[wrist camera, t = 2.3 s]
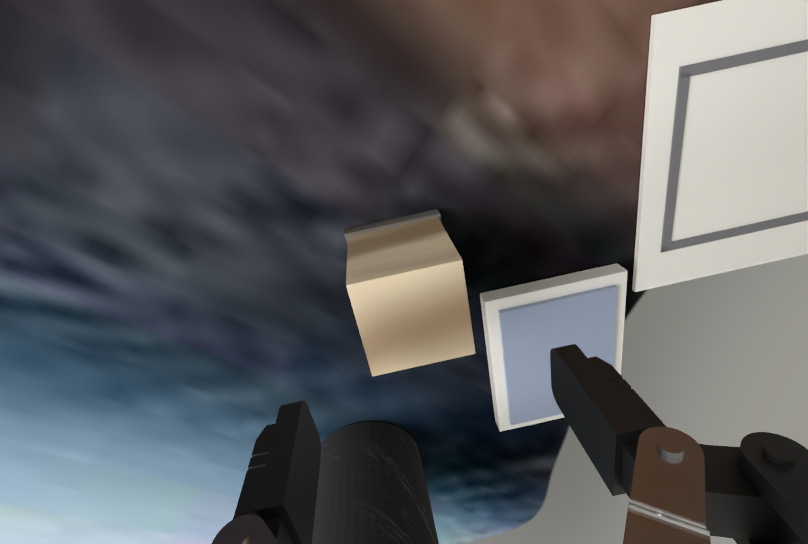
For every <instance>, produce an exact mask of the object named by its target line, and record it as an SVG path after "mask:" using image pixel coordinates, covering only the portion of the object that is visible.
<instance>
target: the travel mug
mask: <svg viewBox="0 0 808 544" xmlns="http://www.w3.org/2000/svg"><path fill="white" fill-rule="evenodd" d="M312 544H439V543H438V538H437V533H436V529H435V524H434V519H433V514H432V509H431V505H430V500H429V495H428V490H427V485H426V481H425V476H424V471H423V466H422V462H421V458H420V453H419V450H418V447H417V445H416V443H415V441H414V439H413V438H412V437H411V436H410V435H409V434H408V433H407V432H405V431H404V430H403V429H401V428H399V427H397V426H394V425H391V424H388V423H383V422H360V423H355V424H351V425H348V426H345V427H343V428H341V429H339V430H337V431H335V432H334V433H332V434H331V435H329V436H328V437H327V438H326V439H325V440H324V441H323V442H322V444H321V460H320V470H319V479H318V489H317V499H316V508H315V518H314V527H313V537H312Z"/></svg>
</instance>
